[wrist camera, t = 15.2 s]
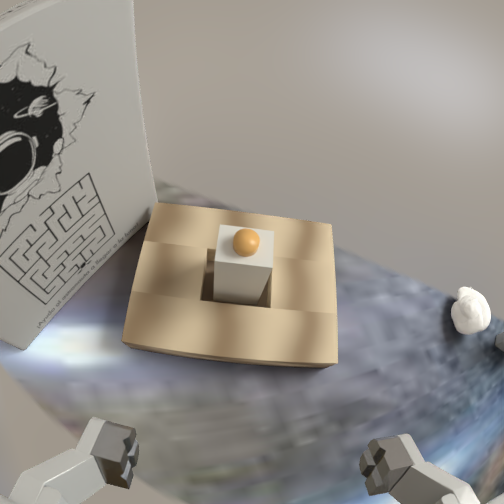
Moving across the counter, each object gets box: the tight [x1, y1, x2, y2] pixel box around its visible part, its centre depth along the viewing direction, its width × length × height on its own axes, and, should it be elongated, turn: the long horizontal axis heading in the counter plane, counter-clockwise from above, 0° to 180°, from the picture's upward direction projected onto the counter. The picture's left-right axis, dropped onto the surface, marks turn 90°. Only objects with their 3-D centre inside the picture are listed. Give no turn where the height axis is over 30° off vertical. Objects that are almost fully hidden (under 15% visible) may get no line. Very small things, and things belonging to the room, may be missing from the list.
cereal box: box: [0, 0, 158, 350], centre depth 17 cm, size 22×8×25 cm, turn 144°
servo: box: [213, 224, 274, 305], centre depth 25 cm, size 4×3×9 cm
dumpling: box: [451, 287, 491, 335], centre depth 29 cm, size 7×5×4 cm
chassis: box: [121, 202, 338, 368], centre depth 28 cm, size 18×14×3 cm
